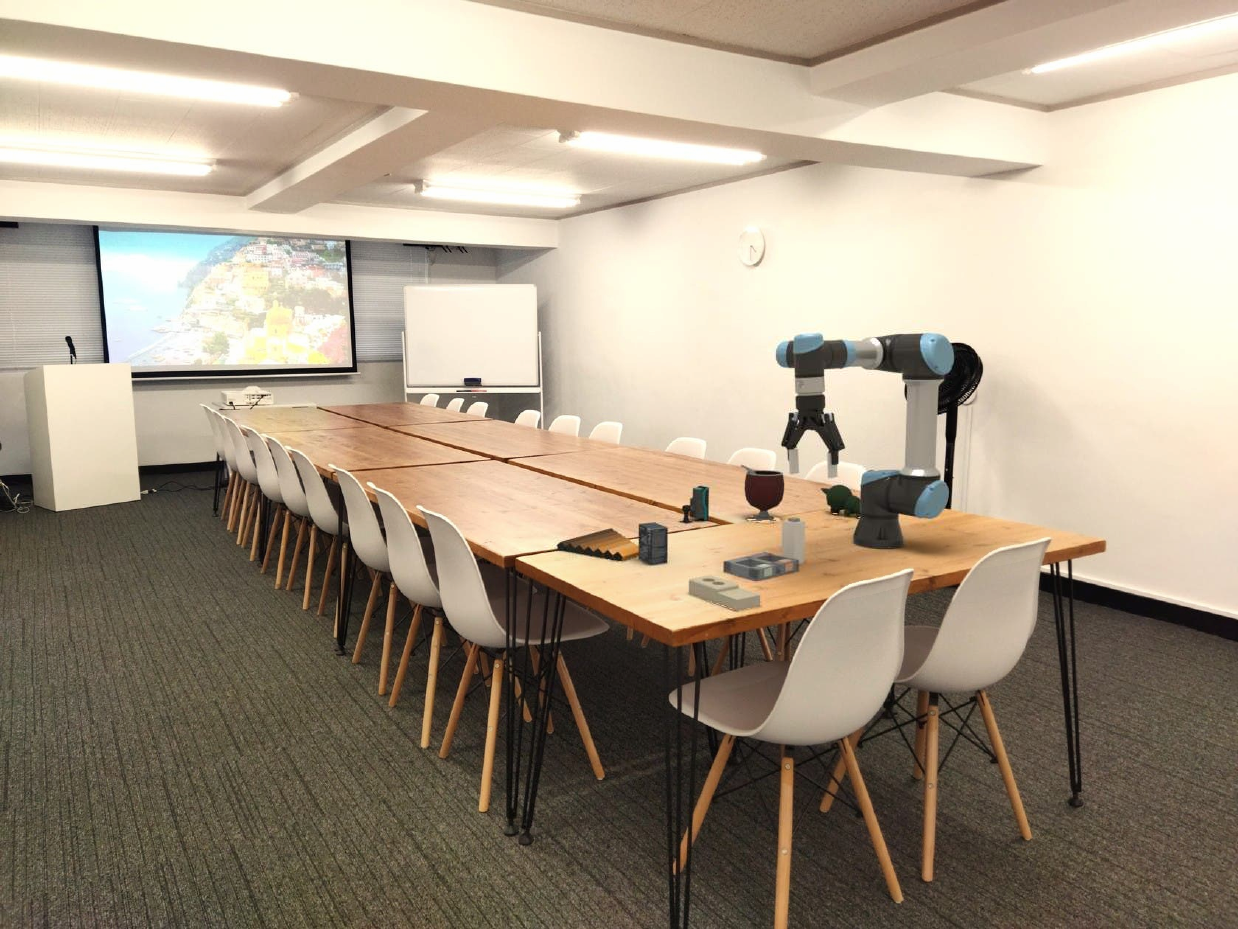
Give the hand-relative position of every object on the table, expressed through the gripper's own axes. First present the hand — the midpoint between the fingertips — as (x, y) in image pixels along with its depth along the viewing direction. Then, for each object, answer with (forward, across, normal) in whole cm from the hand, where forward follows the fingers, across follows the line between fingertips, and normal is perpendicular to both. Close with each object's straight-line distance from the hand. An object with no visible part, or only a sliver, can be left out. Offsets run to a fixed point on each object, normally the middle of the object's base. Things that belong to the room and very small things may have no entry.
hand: (813, 475), depth 223 cm
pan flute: (+24, -58, -26) cm, 68 cm away
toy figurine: (+29, -54, +74) cm, 96 cm away
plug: (+27, -16, +7) cm, 32 cm away
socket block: (+26, -13, -8) cm, 30 cm away
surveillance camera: (+25, -78, +20) cm, 85 cm away
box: (+25, -38, -26) cm, 52 cm away
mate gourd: (+27, -67, +42) cm, 83 cm away
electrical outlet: (+26, +2, -34) cm, 43 cm away
